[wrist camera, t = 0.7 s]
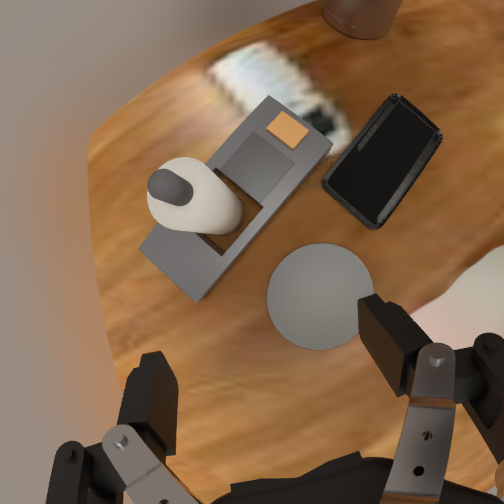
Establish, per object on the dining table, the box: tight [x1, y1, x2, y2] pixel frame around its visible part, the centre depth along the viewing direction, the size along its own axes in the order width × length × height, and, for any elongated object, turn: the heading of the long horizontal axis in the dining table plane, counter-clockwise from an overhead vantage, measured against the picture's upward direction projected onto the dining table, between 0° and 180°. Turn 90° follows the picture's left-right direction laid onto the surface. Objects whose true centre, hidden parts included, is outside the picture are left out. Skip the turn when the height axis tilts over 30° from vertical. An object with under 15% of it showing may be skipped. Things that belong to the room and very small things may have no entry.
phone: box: [322, 94, 443, 229], centre depth 30 cm, size 8×1×15 cm
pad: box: [267, 243, 374, 350], centre depth 31 cm, size 11×11×1 cm
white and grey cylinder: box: [147, 157, 246, 236], centre depth 23 cm, size 4×4×17 cm
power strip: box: [138, 95, 333, 303], centre depth 30 cm, size 20×8×4 cm, turn 139°
